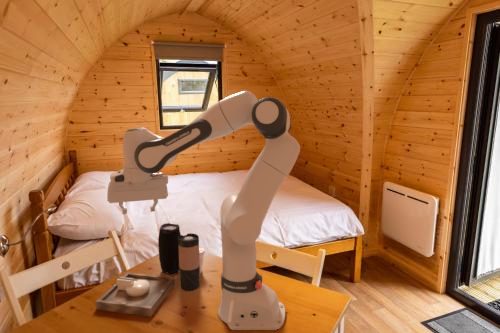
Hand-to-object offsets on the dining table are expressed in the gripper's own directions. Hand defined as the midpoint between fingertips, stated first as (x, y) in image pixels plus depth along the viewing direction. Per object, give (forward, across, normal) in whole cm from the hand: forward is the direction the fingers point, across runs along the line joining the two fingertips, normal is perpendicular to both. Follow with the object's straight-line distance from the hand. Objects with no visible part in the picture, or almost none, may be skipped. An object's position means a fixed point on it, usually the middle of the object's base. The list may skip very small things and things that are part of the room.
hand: (138, 212), depth 120 cm
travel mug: (+31, -17, +3) cm, 35 cm away
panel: (+31, +2, +3) cm, 31 cm away
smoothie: (+31, -22, -6) cm, 38 cm away
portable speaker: (+31, -13, -12) cm, 35 cm away
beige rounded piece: (+29, +3, +2) cm, 29 cm away
